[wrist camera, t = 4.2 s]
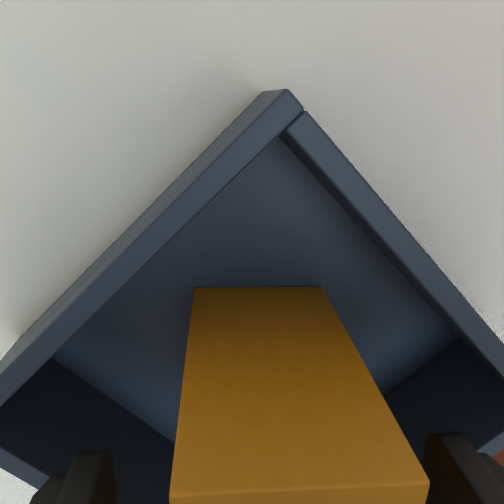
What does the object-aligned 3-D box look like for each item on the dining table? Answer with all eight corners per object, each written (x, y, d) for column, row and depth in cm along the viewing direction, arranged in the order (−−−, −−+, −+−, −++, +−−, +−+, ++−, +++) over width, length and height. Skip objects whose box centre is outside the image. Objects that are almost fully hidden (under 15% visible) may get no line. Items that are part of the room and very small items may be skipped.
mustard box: (196, 393, 16) (178, 660, 8) (193, 287, 14) (168, 496, 7) (312, 390, 16) (394, 641, 9) (322, 285, 15) (431, 482, 7)
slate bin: (17, 339, 15) (-60, 434, 11) (263, 90, 13) (287, 87, 8) (250, 500, 19) (259, 617, 14) (472, 330, 16) (560, 410, 12)
